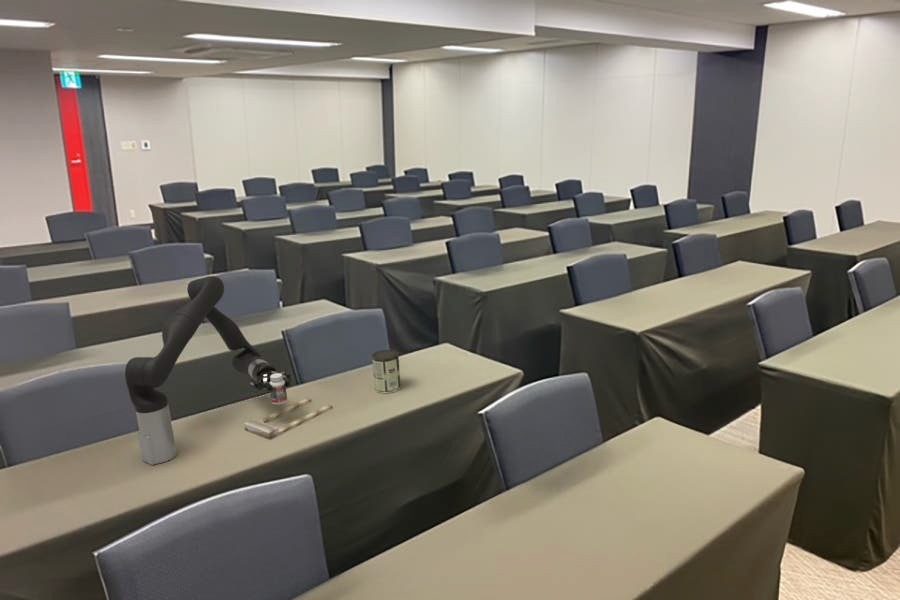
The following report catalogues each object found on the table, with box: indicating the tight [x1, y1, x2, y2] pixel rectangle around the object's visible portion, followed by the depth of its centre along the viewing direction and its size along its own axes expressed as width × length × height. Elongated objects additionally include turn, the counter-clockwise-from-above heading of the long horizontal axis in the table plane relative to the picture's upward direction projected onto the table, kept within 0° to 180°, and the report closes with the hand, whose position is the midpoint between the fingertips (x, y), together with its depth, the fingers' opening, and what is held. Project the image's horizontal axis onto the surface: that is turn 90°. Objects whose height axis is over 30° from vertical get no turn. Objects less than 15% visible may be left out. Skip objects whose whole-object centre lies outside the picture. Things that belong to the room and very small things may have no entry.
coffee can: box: [371, 349, 402, 394], centre depth 242 cm, size 10×10×14 cm
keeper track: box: [243, 397, 333, 441], centre depth 222 cm, size 28×13×2 cm, turn 143°
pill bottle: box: [269, 372, 288, 405], centre depth 216 cm, size 5×5×10 cm
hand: (280, 386), depth 214 cm, fingers closed on pill bottle, 5 cm apart
